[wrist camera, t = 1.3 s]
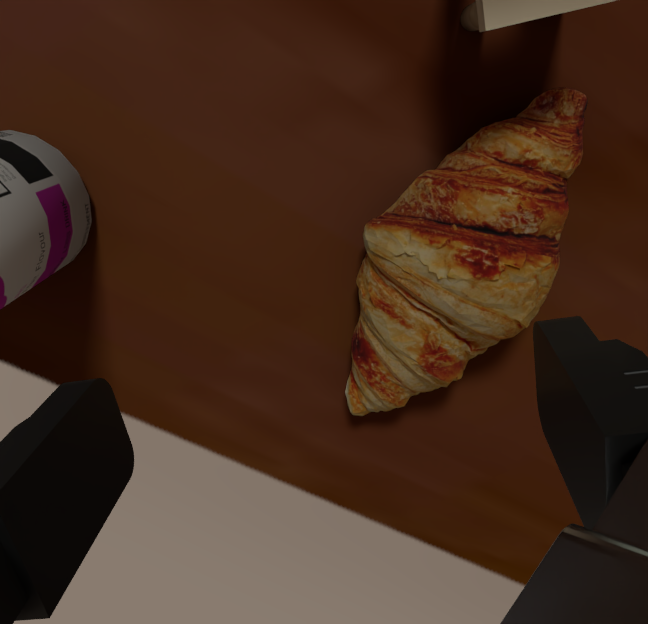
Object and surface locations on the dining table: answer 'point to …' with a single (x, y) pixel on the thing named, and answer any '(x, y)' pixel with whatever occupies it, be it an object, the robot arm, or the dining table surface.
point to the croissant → (464, 254)
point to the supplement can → (37, 213)
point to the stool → (516, 11)
